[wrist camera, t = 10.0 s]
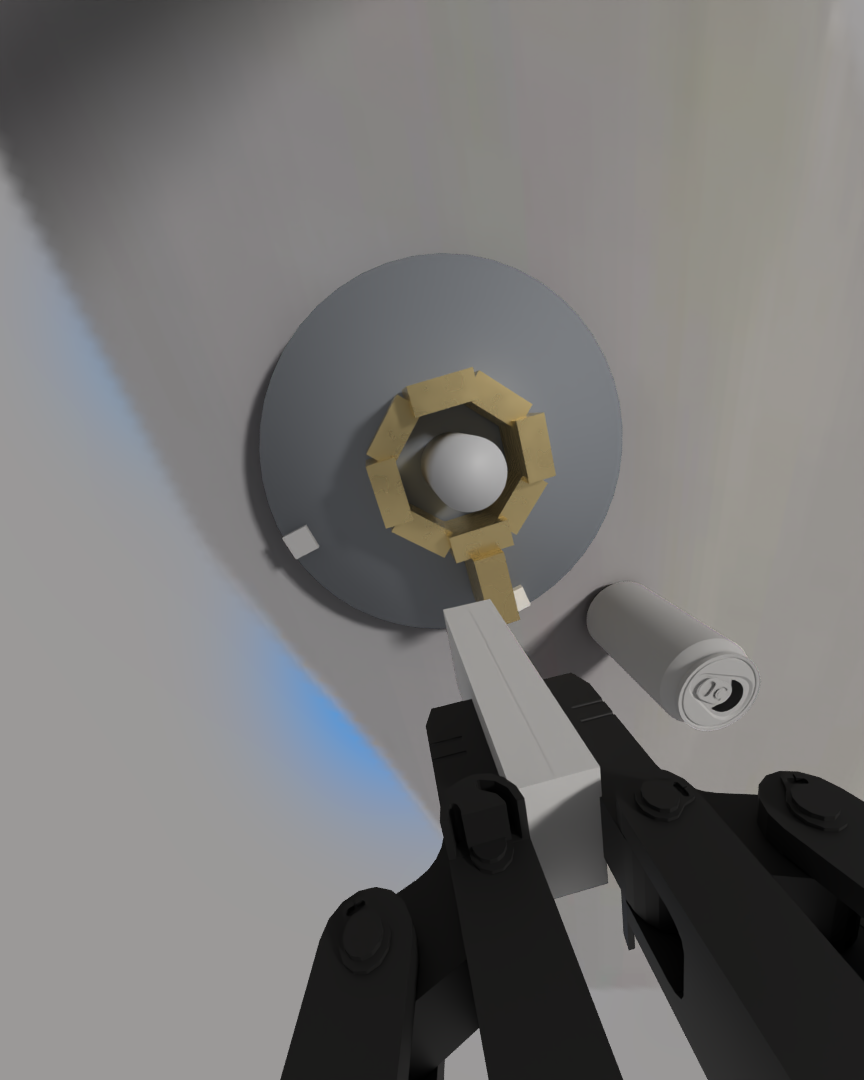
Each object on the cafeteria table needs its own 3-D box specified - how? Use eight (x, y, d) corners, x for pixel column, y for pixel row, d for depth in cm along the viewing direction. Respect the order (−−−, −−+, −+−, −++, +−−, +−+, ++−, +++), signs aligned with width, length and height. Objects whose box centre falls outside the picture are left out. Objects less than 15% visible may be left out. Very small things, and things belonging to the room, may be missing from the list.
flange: (537, 192, 28) (600, 108, 20) (646, 528, 36) (721, 558, 28) (187, 373, 28) (119, 358, 20) (375, 668, 36) (377, 735, 28)
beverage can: (624, 652, 39) (728, 748, 28) (568, 628, 38) (655, 720, 26) (661, 593, 38) (787, 670, 27) (606, 566, 36) (714, 635, 25)
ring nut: (348, 406, 28) (343, 403, 23) (510, 358, 28) (538, 346, 24) (417, 616, 33) (425, 650, 28) (554, 572, 33) (584, 598, 29)
